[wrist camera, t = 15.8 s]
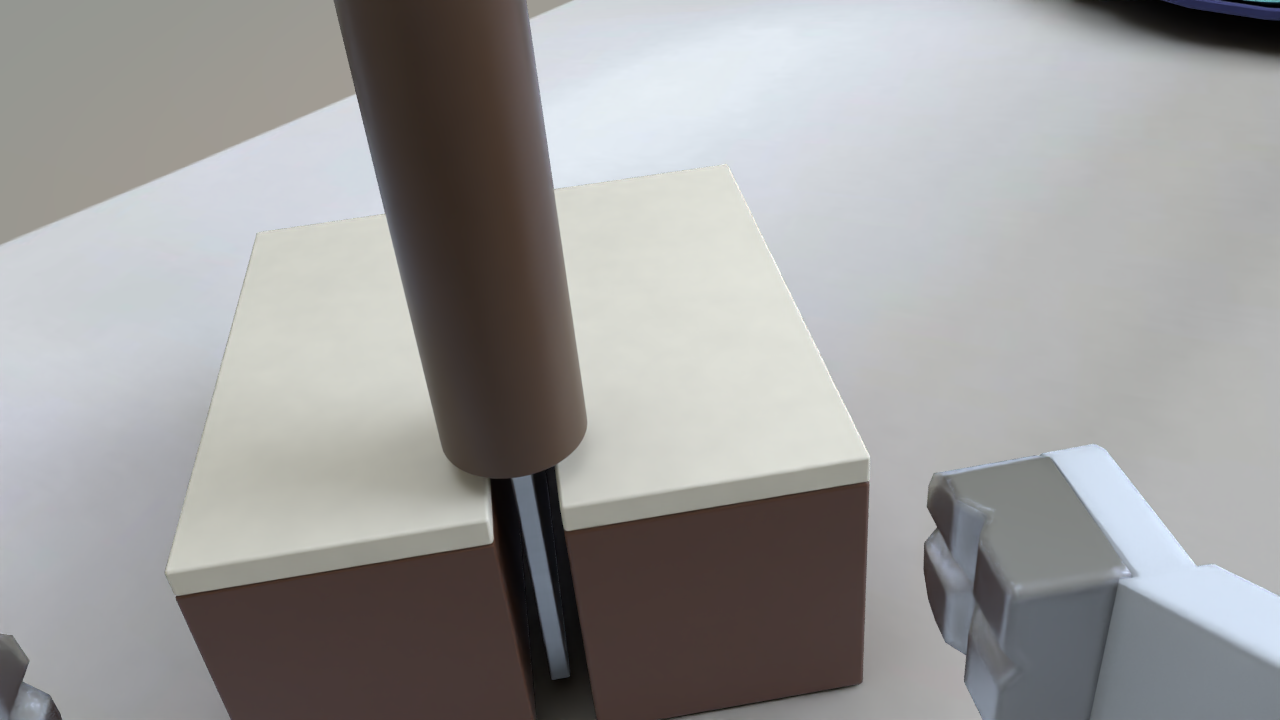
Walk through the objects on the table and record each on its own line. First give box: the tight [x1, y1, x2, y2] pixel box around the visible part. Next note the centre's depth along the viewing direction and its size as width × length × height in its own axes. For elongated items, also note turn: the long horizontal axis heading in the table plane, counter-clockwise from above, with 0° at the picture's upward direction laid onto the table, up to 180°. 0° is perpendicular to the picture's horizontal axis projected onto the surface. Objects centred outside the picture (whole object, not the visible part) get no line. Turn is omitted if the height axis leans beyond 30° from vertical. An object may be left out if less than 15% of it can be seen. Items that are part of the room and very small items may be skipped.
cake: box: [165, 164, 870, 720], centre depth 26 cm, size 12×12×6 cm
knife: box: [334, 0, 587, 680], centre depth 24 cm, size 13×3×15 cm, turn 8°
